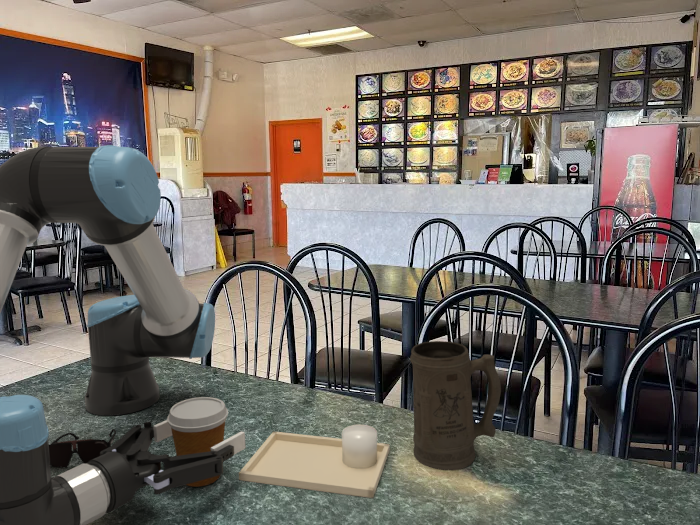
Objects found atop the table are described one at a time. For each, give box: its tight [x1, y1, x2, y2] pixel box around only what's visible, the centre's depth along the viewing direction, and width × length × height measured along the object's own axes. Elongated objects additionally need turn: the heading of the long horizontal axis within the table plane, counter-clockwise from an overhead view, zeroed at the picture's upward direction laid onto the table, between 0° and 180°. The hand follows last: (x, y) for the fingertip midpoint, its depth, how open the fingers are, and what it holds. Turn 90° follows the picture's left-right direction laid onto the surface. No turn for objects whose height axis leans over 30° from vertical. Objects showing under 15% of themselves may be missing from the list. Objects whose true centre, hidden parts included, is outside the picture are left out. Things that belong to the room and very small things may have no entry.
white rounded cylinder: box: [341, 424, 378, 469], centre depth 94 cm, size 6×6×5 cm
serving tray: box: [238, 431, 391, 499], centre depth 93 cm, size 15×22×2 cm
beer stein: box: [409, 340, 502, 471], centre depth 95 cm, size 15×11×20 cm
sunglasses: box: [49, 428, 117, 469], centre depth 98 cm, size 11×12×5 cm
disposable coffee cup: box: [166, 396, 229, 488], centre depth 89 cm, size 10×10×12 cm
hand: (214, 429), depth 92 cm, fingers open, 13 cm apart
